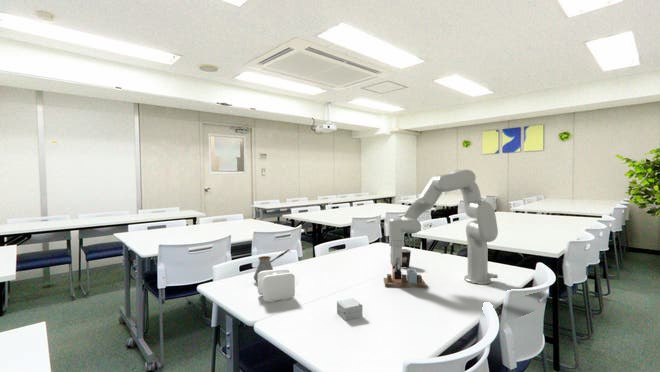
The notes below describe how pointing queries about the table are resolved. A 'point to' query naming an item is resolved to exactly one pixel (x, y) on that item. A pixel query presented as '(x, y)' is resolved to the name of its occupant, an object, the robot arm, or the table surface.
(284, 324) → the table surface
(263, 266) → the coffee pot
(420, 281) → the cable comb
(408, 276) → the slate plug
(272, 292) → the cable organizer
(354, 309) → the small box
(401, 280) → the terracotta plug
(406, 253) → the coffee mug
